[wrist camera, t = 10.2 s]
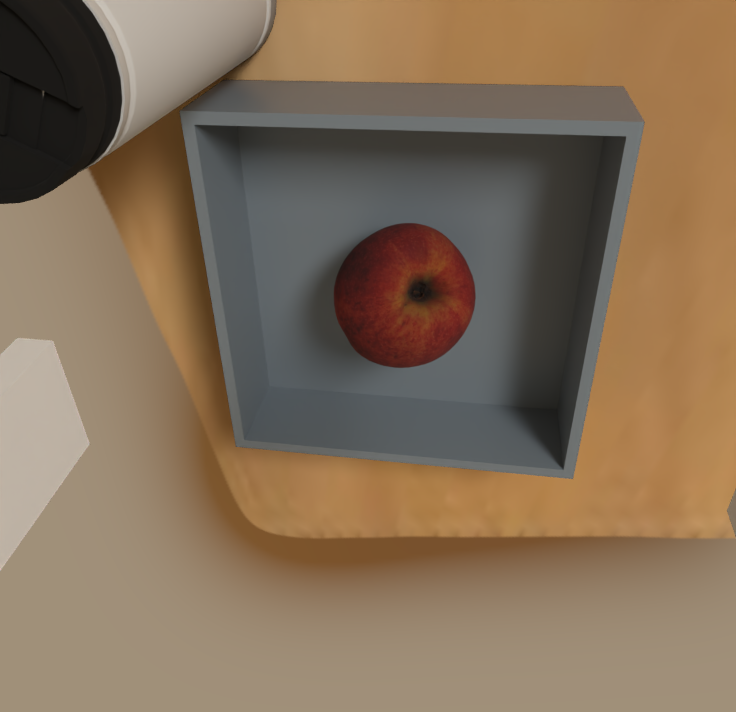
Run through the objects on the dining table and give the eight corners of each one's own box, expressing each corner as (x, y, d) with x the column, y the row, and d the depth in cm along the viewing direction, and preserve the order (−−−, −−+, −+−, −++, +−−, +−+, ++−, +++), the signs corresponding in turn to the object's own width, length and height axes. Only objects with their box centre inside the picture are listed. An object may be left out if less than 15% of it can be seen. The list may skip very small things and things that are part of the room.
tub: (223, 79, 36) (179, 110, 31) (623, 86, 33) (644, 121, 28) (263, 388, 47) (235, 446, 42) (565, 413, 44) (572, 479, 39)
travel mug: (164, -111, 32) (-198, -104, 15) (296, -41, 32) (85, 37, 16) (135, 24, 35) (-184, 148, 19) (254, 85, 36) (47, 253, 20)
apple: (506, 275, 39) (507, 353, 33) (402, 343, 43) (384, 426, 36) (423, 175, 37) (406, 238, 30) (320, 256, 40) (285, 328, 34)
